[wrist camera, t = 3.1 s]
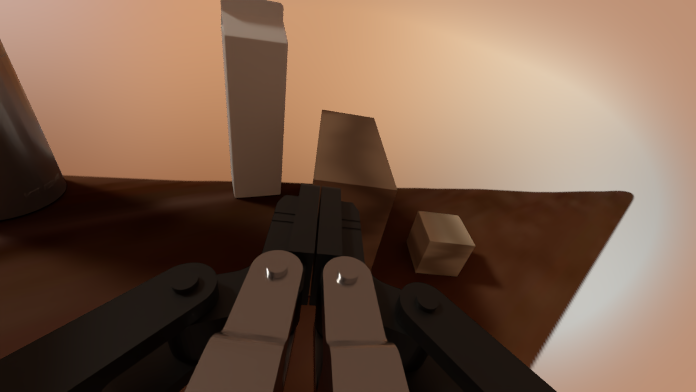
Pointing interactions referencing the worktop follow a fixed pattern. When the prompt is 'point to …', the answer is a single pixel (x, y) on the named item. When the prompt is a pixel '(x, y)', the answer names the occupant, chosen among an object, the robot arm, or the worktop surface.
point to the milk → (255, 93)
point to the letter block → (439, 244)
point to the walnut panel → (356, 173)
